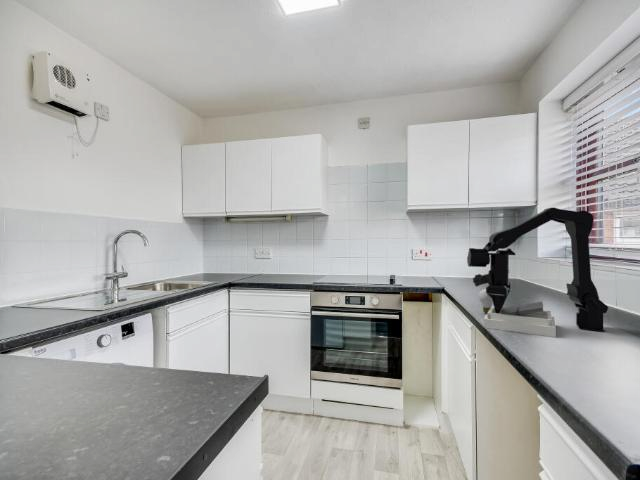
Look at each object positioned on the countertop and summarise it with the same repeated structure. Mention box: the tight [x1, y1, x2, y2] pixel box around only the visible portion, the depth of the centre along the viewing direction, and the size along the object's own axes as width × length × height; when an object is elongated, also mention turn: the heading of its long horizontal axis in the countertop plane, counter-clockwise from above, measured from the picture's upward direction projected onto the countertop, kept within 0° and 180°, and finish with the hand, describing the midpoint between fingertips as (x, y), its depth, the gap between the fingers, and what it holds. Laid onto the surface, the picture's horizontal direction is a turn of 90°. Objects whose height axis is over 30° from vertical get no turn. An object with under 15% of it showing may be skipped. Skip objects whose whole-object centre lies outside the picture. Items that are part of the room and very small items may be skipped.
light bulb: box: [478, 288, 493, 315], centre depth 130 cm, size 6×6×10 cm
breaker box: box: [483, 305, 557, 338], centre depth 111 cm, size 20×16×5 cm
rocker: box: [498, 300, 544, 315], centre depth 111 cm, size 14×12×1 cm
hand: (498, 310), depth 115 cm, fingers open, 9 cm apart
